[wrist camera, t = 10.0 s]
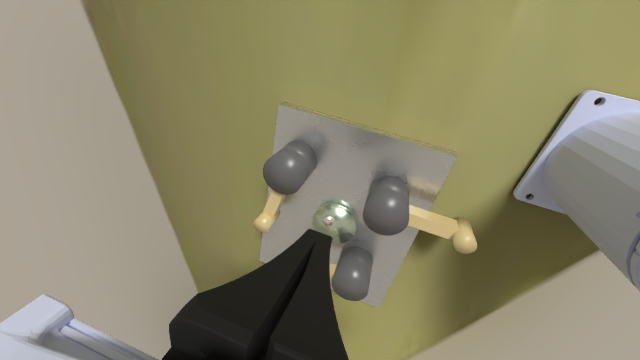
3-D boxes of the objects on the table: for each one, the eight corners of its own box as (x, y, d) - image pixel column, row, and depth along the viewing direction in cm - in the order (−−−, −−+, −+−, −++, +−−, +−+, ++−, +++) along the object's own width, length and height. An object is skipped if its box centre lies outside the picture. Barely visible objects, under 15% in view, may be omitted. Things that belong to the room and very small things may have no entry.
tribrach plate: (454, 151, 20) (459, 162, 18) (379, 298, 29) (377, 316, 27) (284, 101, 22) (272, 107, 20) (264, 253, 31) (254, 267, 29)
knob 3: (364, 202, 23) (357, 227, 19) (375, 170, 21) (370, 191, 18) (456, 234, 21) (464, 265, 18) (475, 202, 20) (488, 231, 17)
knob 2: (373, 248, 24) (368, 277, 21) (372, 274, 26) (368, 304, 23) (295, 238, 27) (280, 263, 24) (298, 262, 28) (285, 289, 25)
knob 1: (289, 133, 22) (269, 148, 19) (323, 152, 22) (308, 170, 18) (262, 201, 26) (242, 222, 23) (290, 217, 26) (275, 240, 23)
